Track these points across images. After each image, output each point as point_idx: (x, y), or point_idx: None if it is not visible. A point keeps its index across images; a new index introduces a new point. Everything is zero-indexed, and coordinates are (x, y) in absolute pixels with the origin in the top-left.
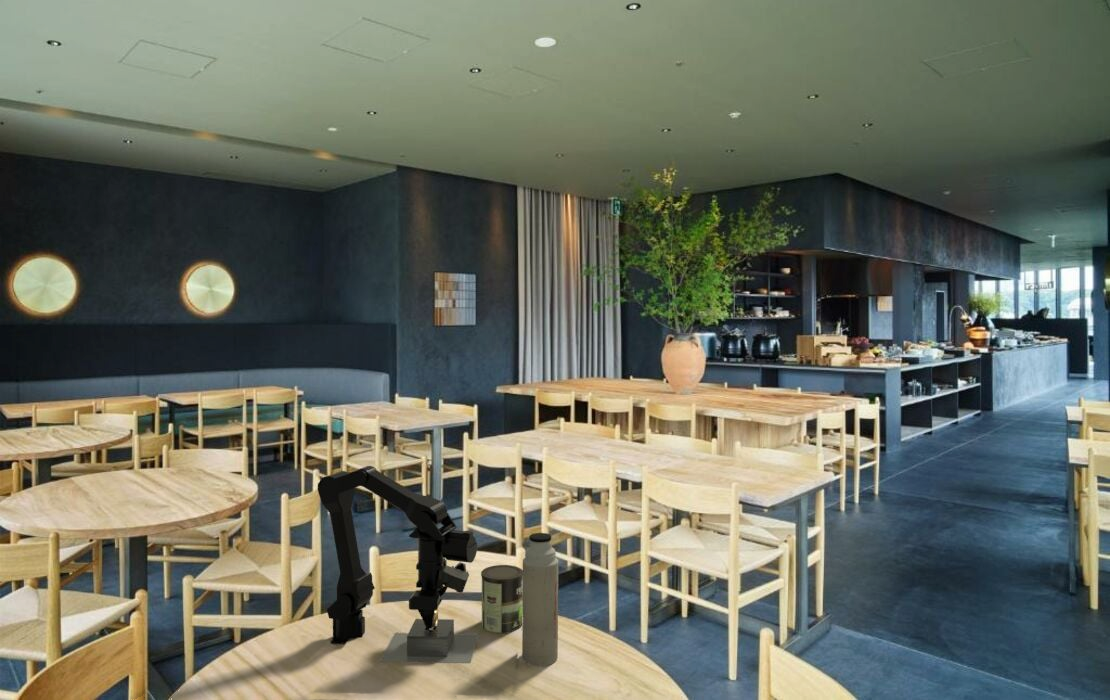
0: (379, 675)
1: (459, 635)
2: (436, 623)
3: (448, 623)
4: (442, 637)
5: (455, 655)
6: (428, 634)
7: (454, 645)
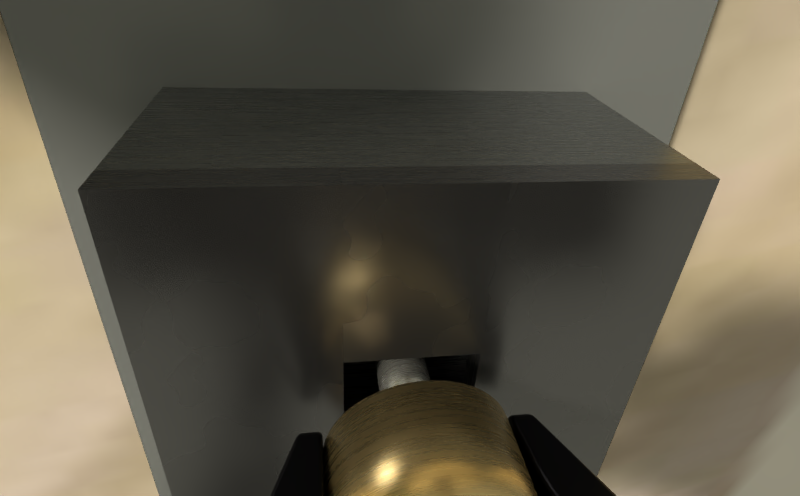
0: (646, 424)
1: (50, 27)
2: (483, 408)
3: (260, 244)
4: (686, 234)
5: (571, 8)
6: (589, 387)
7: (336, 54)
